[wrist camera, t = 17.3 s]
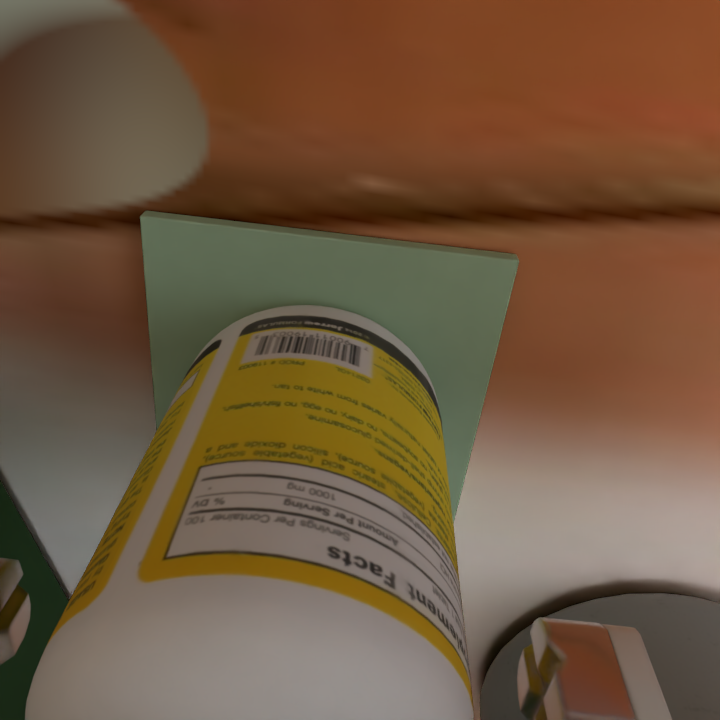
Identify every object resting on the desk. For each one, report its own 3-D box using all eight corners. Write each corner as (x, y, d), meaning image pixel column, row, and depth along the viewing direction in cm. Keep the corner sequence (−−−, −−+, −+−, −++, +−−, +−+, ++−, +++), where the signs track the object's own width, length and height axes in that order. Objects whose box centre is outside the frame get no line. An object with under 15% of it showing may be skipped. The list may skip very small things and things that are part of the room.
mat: (145, 209, 14) (138, 215, 13) (517, 253, 14) (520, 260, 13) (165, 488, 18) (161, 498, 17) (450, 520, 18) (451, 531, 18)
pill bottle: (277, 530, 18) (142, 1155, 8) (136, 362, 15) (-291, 1002, 6) (483, 453, 16) (603, 1136, 7) (365, 247, 13) (285, 904, 4)
